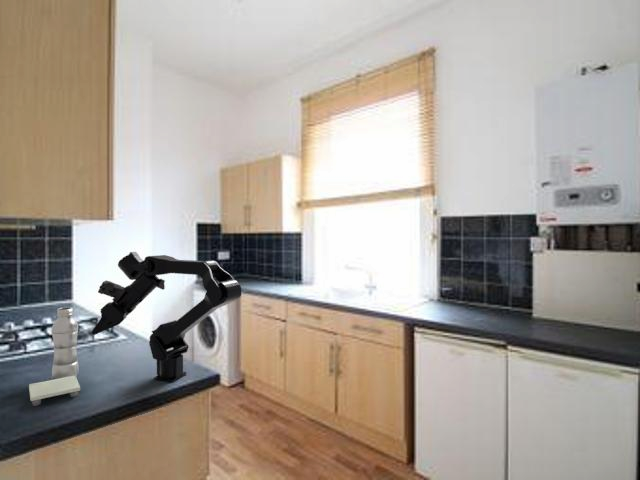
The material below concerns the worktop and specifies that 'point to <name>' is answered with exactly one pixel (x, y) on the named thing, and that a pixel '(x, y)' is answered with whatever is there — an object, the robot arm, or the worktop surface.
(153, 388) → the worktop surface
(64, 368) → the plastic bottle
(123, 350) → the worktop surface
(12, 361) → the worktop surface
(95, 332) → the robot arm
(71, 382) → the plate
